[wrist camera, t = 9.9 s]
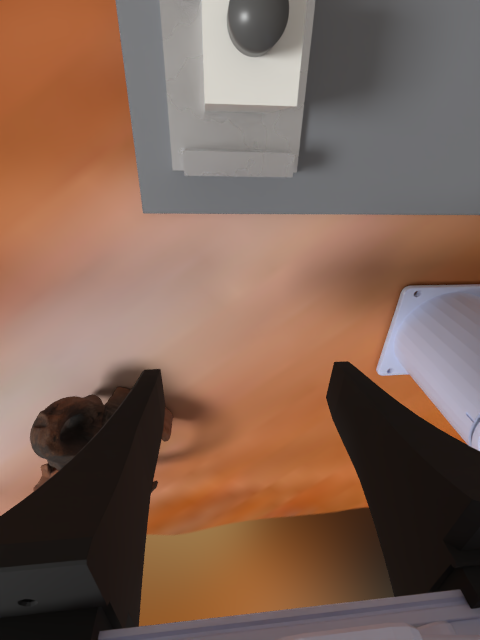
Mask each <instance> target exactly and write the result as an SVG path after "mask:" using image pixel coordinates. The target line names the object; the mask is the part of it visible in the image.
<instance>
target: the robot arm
mask: <svg viewBox="0 0 480 640" xmlns="http://www.w3.org/2000/svg"><path fill="white" fill-rule="evenodd" d="M416 291H418V292H417V293H416V294H415V295H414V293H415V292H416ZM388 369H389V370H388ZM376 371H377V372H378V374H379V375H404V374H410V376H411V377H412V378H413V379H414V381H415V382H416V383H417V384H418V385H419V387H420V388H421V389H422V390H423V391H424V393H425V394H426V395H427V396H428V397H429V399H430V400H431V401H432V402H433V403H434V405H435V406H436V407H437V408H438V409H439V411H440V412H441V413H442V414H443V415H444V417H445V418H446V419H447V420H448V421H449V423H450V424H451V425H452V426H453V428H454V429H455V430H456V431H457V432H458V434H459V435H460V436H461V437H462V438H463V440H464V441H465V442H466V443H467V444H468V445H467V444H465V443H463V442H461V441H459V440H457V439H456V438H454V437H452V436H450V435H448V434H447V433H445V432H443V431H441V430H440V429H438V428H436V427H435V426H433V425H432V424H430V423H429V422H427V421H425V420H424V419H422V418H421V417H419V416H418V415H416V414H415V413H413V412H412V411H410V410H409V409H408V408H406V407H405V406H403V405H402V404H401V403H399V402H398V401H397V400H395V399H394V398H393V397H391V396H390V395H389V394H388V393H386V392H385V391H384V390H383V389H381V388H380V387H379V386H378V385H376V384H375V383H374V382H373V381H371V380H370V379H369V378H368V377H367V376H365V375H364V374H363V373H362V372H361V371H359V370H358V369H357V368H356V367H355V366H353V365H352V364H351V363H350V362H334V365H333V370H332V374H331V378H330V383H329V387H328V391H327V396H326V399H327V402H328V406H329V409H330V412H331V415H332V419H333V421H334V423H335V426H336V428H337V430H338V432H339V435H340V437H341V439H342V441H343V443H344V446H345V448H346V450H347V452H348V454H349V456H350V459H351V461H352V463H353V465H354V467H355V470H356V472H357V474H358V477H359V479H360V482H361V485H362V488H363V491H364V494H365V497H366V500H367V503H368V506H369V509H370V511H371V515H372V518H373V521H374V524H375V528H376V531H377V534H378V538H379V541H380V545H381V548H382V551H383V555H384V558H385V562H386V566H387V570H388V573H389V577H390V581H391V585H392V589H393V593H394V596H395V597H391V598H382V599H373V600H365V601H356V602H348V603H339V604H330V605H321V606H313V607H304V608H296V609H287V610H278V611H270V612H261V613H253V614H244V615H235V616H227V617H218V618H209V619H201V620H192V621H183V622H175V623H167V624H158V625H150V626H140V627H139V615H140V600H141V587H142V576H143V564H144V552H145V543H146V532H147V522H148V513H149V504H150V495H151V489H152V483H153V478H154V473H155V468H156V463H157V459H158V454H159V449H160V444H161V439H162V434H163V428H164V417H165V400H164V392H163V385H162V377H161V370H160V369H153V370H144V371H143V372H142V374H141V375H140V377H139V378H138V380H137V382H136V383H135V385H134V386H133V388H132V389H131V391H130V392H129V393H128V395H127V396H126V398H125V399H124V400H123V402H122V403H121V404H120V406H119V407H118V409H117V410H116V411H115V412H114V414H113V415H112V416H111V417H110V419H109V420H108V421H107V422H106V423H105V425H104V426H103V427H102V428H101V429H100V430H99V432H98V433H97V434H96V435H95V436H94V437H93V438H92V439H91V440H90V441H89V442H88V443H87V445H86V446H85V447H84V448H83V449H82V450H81V451H80V452H79V453H78V454H76V455H75V456H74V457H73V458H72V459H71V460H70V461H69V462H68V463H67V464H66V465H65V466H64V467H63V468H62V469H60V470H59V471H58V472H57V473H56V474H55V475H53V476H52V477H51V478H50V479H49V480H47V481H46V482H45V483H44V484H43V485H41V486H40V487H39V488H38V489H37V490H35V491H34V492H33V493H32V494H30V495H29V496H28V497H26V498H25V499H24V500H22V501H21V502H20V503H18V504H17V505H15V506H14V507H13V508H11V509H10V510H8V511H7V512H6V513H4V514H3V515H2V516H0V640H480V284H469V285H413V286H407V287H405V288H404V289H403V290H402V292H401V295H400V298H399V301H398V304H397V307H396V310H395V313H394V316H393V319H392V322H391V325H390V328H389V332H388V335H387V338H386V341H385V344H384V347H383V350H382V353H381V356H380V359H379V362H378V366H377V369H376Z"/></svg>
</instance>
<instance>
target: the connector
mask: <svg viewBox="0 0 480 640" xmlns="http://www.w3.org/2000/svg"><path fill="white" fill-rule="evenodd" d="M201 2H202V34H203V67H204V99H205V111H214V112H248V113H271V112H275V111H279V110H283V109H288V108H292V107H296V106H297V99H298V89H299V78H300V68H301V57H302V47H303V36H304V25H305V15H306V4H307V0H201Z"/></svg>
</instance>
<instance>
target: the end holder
mask: <svg viewBox="0 0 480 640" xmlns="http://www.w3.org/2000/svg"><path fill="white" fill-rule="evenodd" d="M159 1H160V13H161V26H162V39H163V52H164V65H165V78H166V91H167V104H168V117H169V130H170V143H171V156H172V169H173V170H180V171H184V176H233V177H293V173H297V165H298V156H299V147H300V138H301V129H302V119H303V110H304V101H305V92H306V83H307V73H308V64H309V55H310V46H311V37H312V27H313V18H314V9H315V0H307V4H306V15H305V25H304V36H303V47H302V57H301V68H300V78H299V89H298V99H297V106H296V107H292V108H288V109H283V110H279V111H275V112H271V113H248V112H214V111H205V99H204V67H203V34H202V2H201V0H159Z"/></svg>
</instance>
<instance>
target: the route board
mask: <svg viewBox="0 0 480 640" xmlns="http://www.w3.org/2000/svg"><path fill="white" fill-rule="evenodd" d="M116 7H117V15H118V23H119V30H120V38H121V46H122V53H123V61H124V69H125V77H126V84H127V92H128V100H129V107H130V115H131V123H132V131H133V138H134V146H135V154H136V161H137V169H138V177H139V185H140V192H141V200H142V208H143V213H183V214H389V215H480V0H315V9H314V18H313V27H312V37H311V46H310V55H309V64H308V73H307V83H306V92H305V101H304V110H303V119H302V129H301V138H300V147H299V156H298V165H297V173H293V177H233V176H184V171H180V170H173V169H172V156H171V143H170V130H169V117H168V104H167V91H166V78H165V65H164V52H163V39H162V26H161V13H160V1H159V0H116Z"/></svg>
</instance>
